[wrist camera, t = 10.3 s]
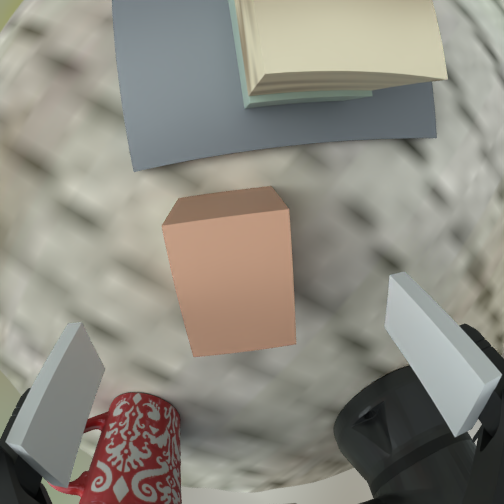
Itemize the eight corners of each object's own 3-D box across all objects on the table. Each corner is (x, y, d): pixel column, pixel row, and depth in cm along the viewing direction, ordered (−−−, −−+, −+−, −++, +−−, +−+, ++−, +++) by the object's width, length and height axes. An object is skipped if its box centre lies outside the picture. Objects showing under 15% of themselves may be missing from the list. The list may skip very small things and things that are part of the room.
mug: (205, 406, 27) (205, 534, 15) (171, 446, 30) (164, 549, 17) (81, 353, 24) (28, 477, 12) (67, 403, 27) (31, 504, 14)
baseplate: (425, 136, 19) (474, 144, 14) (140, 168, 19) (111, 184, 14) (398, -21, 14) (437, -46, 9) (118, -7, 14) (89, -40, 9)
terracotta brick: (279, 293, 23) (296, 344, 18) (199, 303, 23) (193, 357, 17) (270, 185, 20) (289, 209, 15) (178, 197, 20) (161, 225, 14)
